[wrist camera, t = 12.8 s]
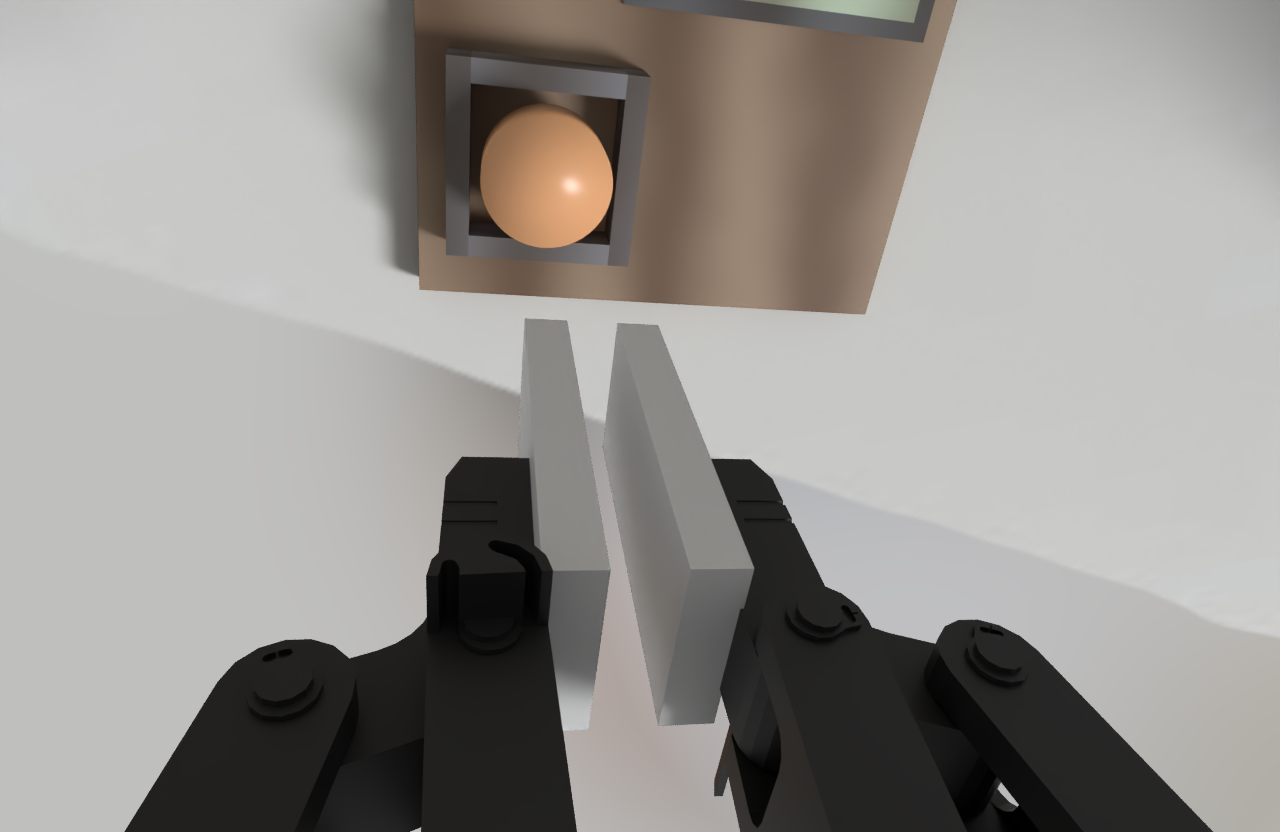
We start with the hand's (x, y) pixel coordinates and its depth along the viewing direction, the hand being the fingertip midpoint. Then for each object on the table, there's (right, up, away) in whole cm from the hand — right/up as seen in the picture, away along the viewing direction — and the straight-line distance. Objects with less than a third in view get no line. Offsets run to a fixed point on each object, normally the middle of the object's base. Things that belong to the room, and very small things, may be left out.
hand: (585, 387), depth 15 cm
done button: (-2, +8, +13) cm, 16 cm away
